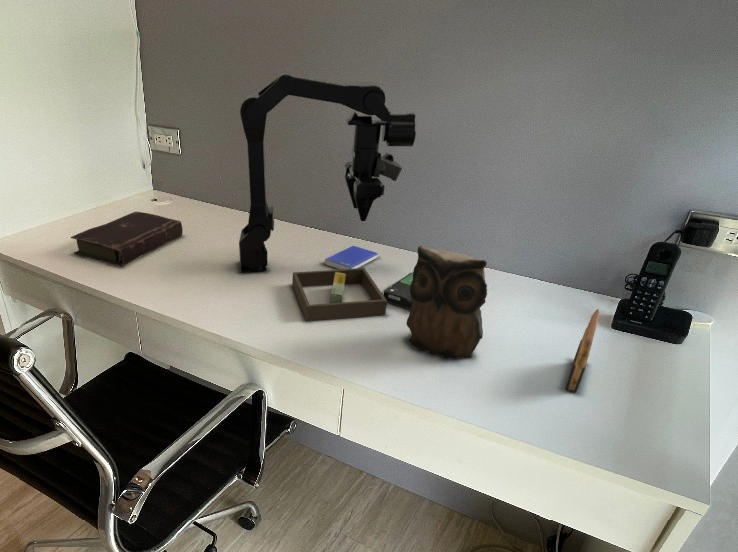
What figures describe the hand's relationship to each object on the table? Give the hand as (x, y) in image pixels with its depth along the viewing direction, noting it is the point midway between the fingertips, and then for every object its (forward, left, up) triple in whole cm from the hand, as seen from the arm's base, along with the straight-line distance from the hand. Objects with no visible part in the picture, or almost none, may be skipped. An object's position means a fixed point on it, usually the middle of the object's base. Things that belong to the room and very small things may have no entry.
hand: (359, 214), depth 137 cm
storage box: (-9, -17, -14) cm, 23 cm away
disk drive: (+10, -18, -14) cm, 25 cm away
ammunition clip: (+27, -54, -14) cm, 62 cm away
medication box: (-9, -17, -14) cm, 23 cm away
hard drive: (0, +4, -14) cm, 15 cm away
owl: (+8, -39, -14) cm, 42 cm away
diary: (-58, +24, -14) cm, 64 cm away
